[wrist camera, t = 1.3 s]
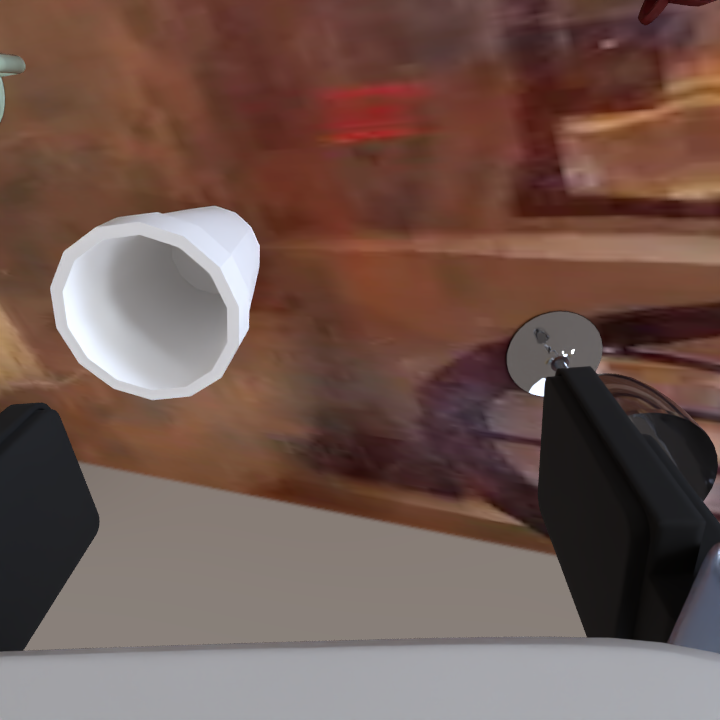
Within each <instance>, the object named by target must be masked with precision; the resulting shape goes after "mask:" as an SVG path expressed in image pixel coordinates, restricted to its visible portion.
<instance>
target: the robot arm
mask: <svg viewBox="0 0 720 720" xmlns="http://www.w3.org/2000/svg"><path fill="white" fill-rule="evenodd" d="M538 501H539V507H540V511H541V514H542V517H543V520H544V522H545V525H546V528H547V531H548V533H549V536H550V539H551V541H552V544H553V547H554V549H555V552H556V555H557V557H558V560H559V563H560V565H561V568H562V571H563V573H564V576H565V579H566V582H567V584H568V587H569V590H570V592H571V595H572V598H573V600H574V603H575V606H576V609H577V611H578V614H579V617H580V619H581V622H582V625H583V627H584V630H585V633H586V636H587V637H586V638H585V637H582V638H581V637H475V638H474V637H471V638H414V639H377V640H342V641H341V640H340V641H302V642H265V643H234V644H203V645H171V646H145V647H144V646H141V647H113V648H112V647H111V648H81V649H55V650H28V651H23V649H24V648H25V647H26V645H27V644H28V642H29V640H30V639H31V637H32V636H33V634H34V632H35V631H36V629H37V628H38V626H39V625H40V623H41V621H42V620H43V618H44V617H45V615H46V613H47V612H48V610H49V609H50V607H51V605H52V604H53V602H54V600H55V599H56V597H57V596H58V594H59V592H60V591H61V589H62V588H63V586H64V585H65V583H66V581H67V580H68V578H69V577H70V575H71V574H72V572H73V570H74V569H75V567H76V566H77V564H78V563H79V561H80V559H81V558H82V556H83V555H84V553H85V551H86V550H87V548H88V547H89V545H90V544H91V542H92V540H93V539H94V537H95V536H96V534H97V531H98V528H99V515H98V512H97V509H96V507H95V504H94V502H93V499H92V497H91V494H90V492H89V489H88V486H87V484H86V481H85V479H84V477H83V474H82V471H81V469H80V466H79V464H78V461H77V459H76V456H75V454H74V451H73V448H72V446H71V443H70V441H69V438H68V436H67V433H66V431H65V428H64V426H63V423H62V421H61V418H60V416H59V414H58V413H57V412H56V411H55V410H53V409H51V408H50V407H49V406H48V405H47V404H45V403H29V404H15V405H10V406H9V407H7V408H6V409H5V410H4V411H2V412H1V413H0V720H720V523H719V522H718V521H717V519H716V518H715V517H714V515H713V514H712V513H711V511H710V510H709V509H708V508H707V506H706V505H705V504H704V502H703V501H702V500H701V498H700V497H699V496H698V494H697V493H696V492H695V491H694V489H693V488H692V487H691V485H690V484H689V483H688V481H687V480H686V479H685V478H684V476H683V475H682V474H681V472H680V471H679V470H678V468H677V467H676V466H675V465H674V463H673V462H672V461H671V459H670V458H669V457H668V455H667V454H666V453H665V451H664V450H663V449H662V448H661V446H660V445H659V444H658V442H657V441H656V440H655V439H654V438H653V437H652V436H651V435H648V434H641V433H640V432H639V430H638V429H637V428H636V426H635V425H634V423H633V422H632V421H631V419H630V418H629V417H628V415H627V414H626V413H625V411H624V410H623V409H622V407H621V406H620V405H619V403H618V402H617V400H616V399H615V398H614V396H613V395H612V394H611V392H610V391H609V390H608V388H607V387H606V386H605V384H604V383H603V382H602V380H601V379H600V378H599V376H598V375H597V373H596V372H595V371H594V369H593V368H592V367H591V366H585V367H570V368H558V369H557V370H556V373H555V376H552V377H547V378H546V380H545V385H544V402H543V418H542V434H541V450H540V467H539V483H538Z"/></svg>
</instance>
